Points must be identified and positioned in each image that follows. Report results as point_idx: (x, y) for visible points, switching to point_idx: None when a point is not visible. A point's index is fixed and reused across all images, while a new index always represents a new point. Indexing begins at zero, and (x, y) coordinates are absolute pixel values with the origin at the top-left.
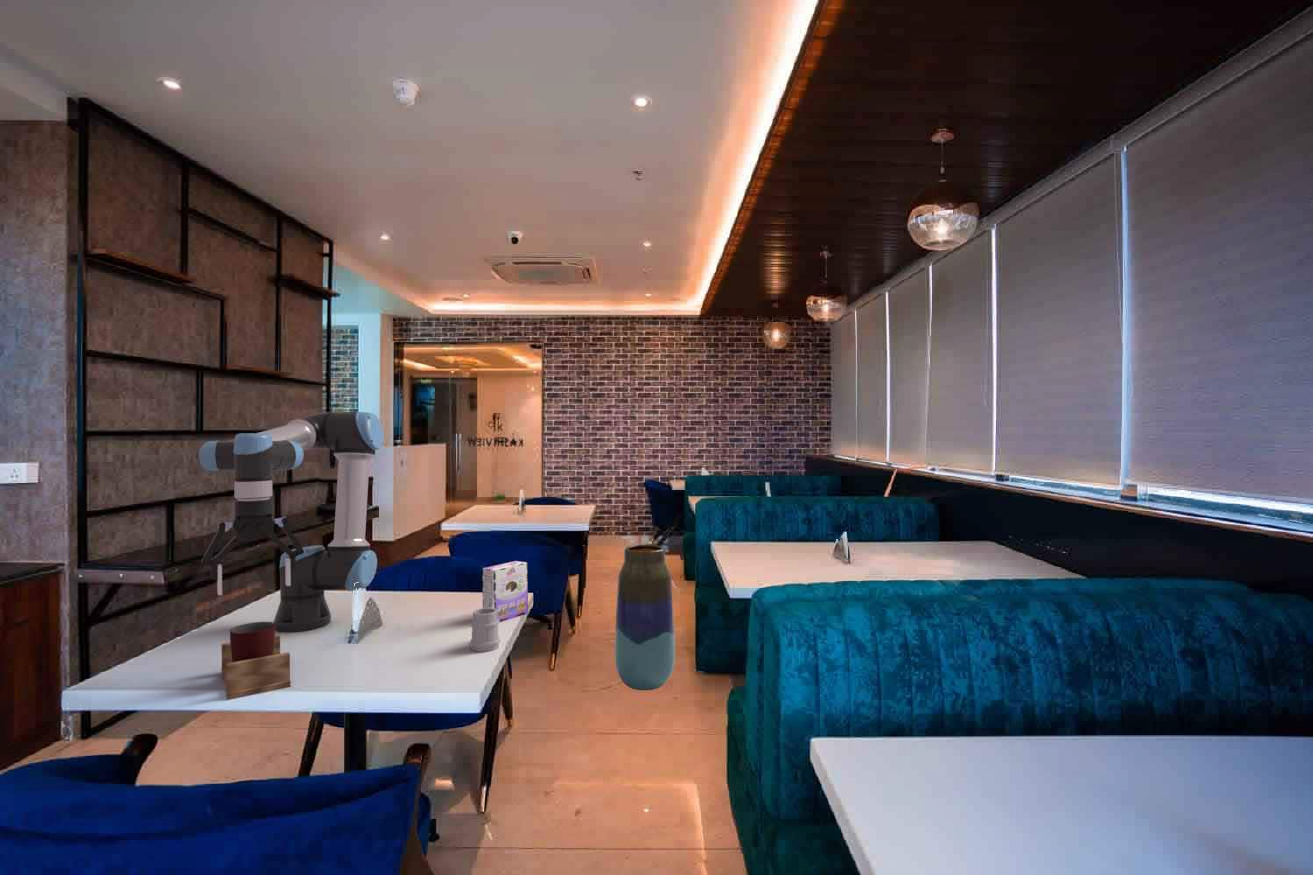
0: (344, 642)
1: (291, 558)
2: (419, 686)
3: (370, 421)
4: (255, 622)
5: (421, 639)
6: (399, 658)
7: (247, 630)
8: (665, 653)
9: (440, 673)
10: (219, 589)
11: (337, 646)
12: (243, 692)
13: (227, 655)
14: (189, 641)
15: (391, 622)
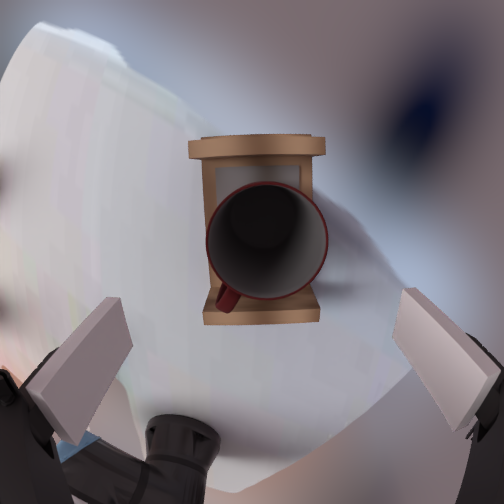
0: None
1: (30, 397)
2: (54, 57)
3: None
4: (256, 298)
5: (23, 270)
6: (43, 194)
7: (276, 287)
8: None
9: (24, 98)
10: (423, 299)
11: None
12: (284, 134)
13: (305, 297)
14: (320, 438)
15: None
